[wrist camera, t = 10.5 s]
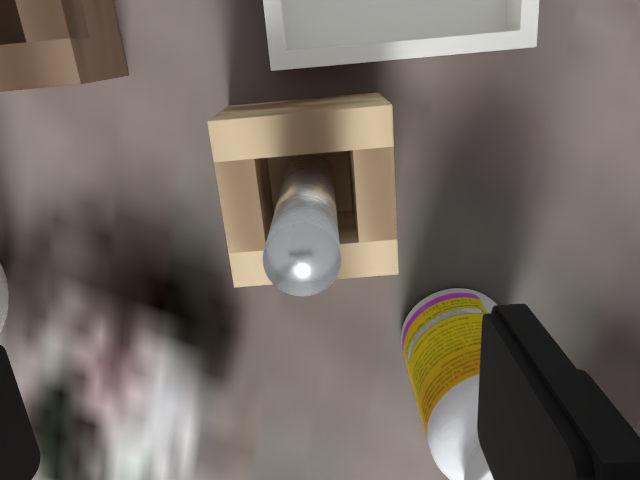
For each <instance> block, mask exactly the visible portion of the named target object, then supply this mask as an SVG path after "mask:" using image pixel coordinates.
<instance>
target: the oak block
mask: <svg viewBox="0 0 640 480" xmlns="http://www.w3.org/2000/svg"><path fill="white" fill-rule="evenodd" d="M207 123H208V129H209V135H210V141H211V147H212V153H213V160H214V166H215V172H216V178H217V184H218V190H219V196H220V203H221V209H222V215H223V221H224V227H225V233H226V239H227V246H228V252H229V258H230V264H231V270H232V276H233V282H234V287H246V286H258V285H270V284H273V283H272V282H271V281H270V280H269V278H268V277H267V275H266V273H265V270H264V266H263V252H264V248H265V245H266V241H267V238H268V234H269V230H270V227H271V223H272V220H273V216H274V212H275V209H276V205H277V202H278V198H279V195H280V191H281V187H282V184H283V180H284V177H285V173H286V170H287V167H288V165H289V163H290V162H291V161H292V160H293V159H294V158H295V157H297V156H299V155H304V154H317V155H319V156H321V157H323V158H324V159H325V160H326V161H327V162H328V163H329V165H330V167H331V169H332V173H333V182H334V192H335V202H336V212H337V222H338V232H339V242H340V252H341V267H340V270H339V273H338V275H337V277H336V279H345V278H357V277H369V276H382V275H394V274H398V248H397V221H396V194H395V167H394V140H393V113H392V104H391V103H390V102H388V101H387V100H386V99H385V98H384V97H383V96H381V95H380V94H379V93H378V92H375V93H364V94H353V95H342V96H331V97H320V98H309V99H298V100H287V101H275V102H264V103H253V104H242V105H231V106H228V107H226V108H225V109H224V110H222V111H221V112H220V113H218V114H217V115H215V116H214V117H213V118H211V119H210V120H209V121H207Z"/></svg>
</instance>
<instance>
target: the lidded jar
mask: <svg viewBox="0 0 640 480" xmlns="http://www.w3.org/2000/svg"><path fill="white" fill-rule="evenodd" d="M8 306H9V290H8V283H7V279H6V275H5V272H4V270H3V267H2V265H1V263H0V334H1V332H2V329H3V326H4V324H5V321H6V317H7V312H8Z"/></svg>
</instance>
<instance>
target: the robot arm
mask: <svg viewBox="0 0 640 480" xmlns="http://www.w3.org/2000/svg"><path fill="white" fill-rule="evenodd" d="M477 432H478V439H479V443H480V446H481V449H482V451H483V454H484V456H485V459H486V461H487V464H488V466H489V469H490V472H491V474H492V477H493V479H494V480H640V437H639V436H638V435H637V434H636V432H635V431H634V430H633V429H632V427H631V426H630V425H629V424H628V422H627V421H626V420H625V419H624V417H623V416H622V415H621V414H620V413H619V411H618V410H617V409H616V408H615V406H614V405H613V404H612V403H611V401H610V400H609V399H608V398H607V396H606V395H605V394H604V393H603V391H602V390H601V389H600V388H599V387H598V385H597V384H596V383H595V382H594V380H593V379H592V378H591V377H590V376H589V375H588V374H587V373H586V372H585V371H583V370H580V369H576V367H575V366H574V365H573V364H572V362H571V361H570V360H569V358H568V357H567V356H566V355H565V353H564V352H563V351H562V350H561V348H560V347H559V346H558V344H557V343H556V342H555V341H554V339H553V338H552V337H551V336H550V334H549V333H548V332H547V330H546V329H545V328H544V327H543V325H542V324H541V323H540V322H539V320H538V319H537V318H536V316H535V315H534V314H533V313H532V311H531V310H530V309H529V308H528V306H527V305H526V304H511V305H495V306H494V307H493V308H492V311H491V313H488V314H484V315H483V318H482V332H481V353H480V374H479V396H478V417H477ZM39 464H40V451H39V448H38V445H37V442H36V439H35V436H34V433H33V430H32V427H31V424H30V421H29V418H28V415H27V412H26V409H25V406H24V403H23V400H22V397H21V394H20V391H19V388H18V385H17V382H16V379H15V376H14V373H13V370H12V367H11V364H10V361H9V358H8V355H7V352H6V350H5V348H4V347H3V346H2V345H0V480H32V478H33V477H34V475H35V474H36V472H37V470H38V467H39Z"/></svg>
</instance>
